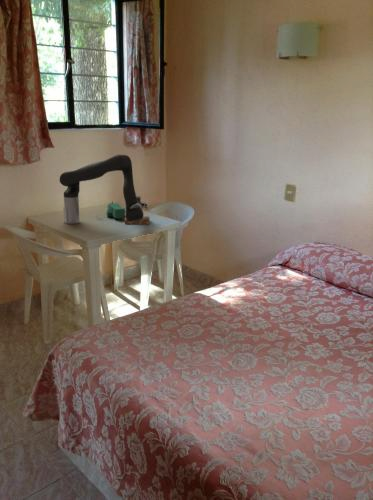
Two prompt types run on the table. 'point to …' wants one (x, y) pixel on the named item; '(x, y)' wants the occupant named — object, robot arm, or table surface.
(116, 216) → the toy
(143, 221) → the rail
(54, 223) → the table surface
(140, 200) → the clip
